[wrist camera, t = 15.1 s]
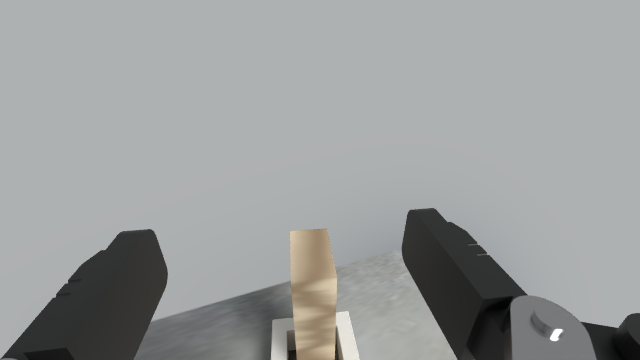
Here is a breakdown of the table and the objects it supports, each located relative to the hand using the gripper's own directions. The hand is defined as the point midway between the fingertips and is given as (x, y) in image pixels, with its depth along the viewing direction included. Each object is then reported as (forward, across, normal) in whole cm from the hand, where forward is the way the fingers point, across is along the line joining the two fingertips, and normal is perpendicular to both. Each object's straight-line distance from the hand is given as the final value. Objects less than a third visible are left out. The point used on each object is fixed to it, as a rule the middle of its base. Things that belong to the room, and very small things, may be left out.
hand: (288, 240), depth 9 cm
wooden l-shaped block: (+13, -2, +31) cm, 34 cm away
